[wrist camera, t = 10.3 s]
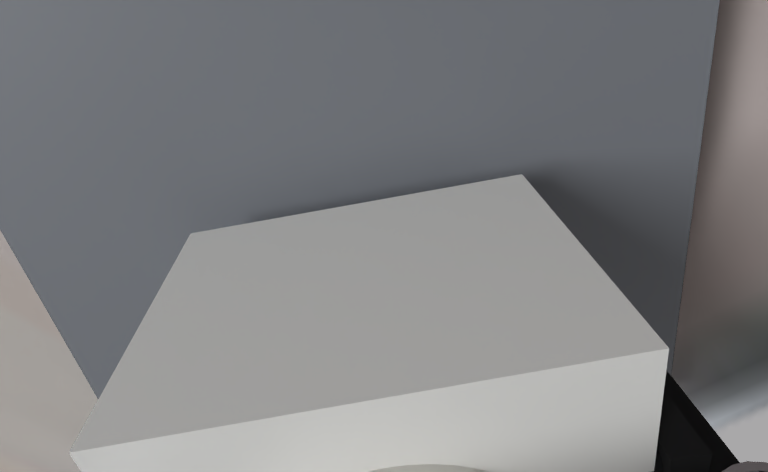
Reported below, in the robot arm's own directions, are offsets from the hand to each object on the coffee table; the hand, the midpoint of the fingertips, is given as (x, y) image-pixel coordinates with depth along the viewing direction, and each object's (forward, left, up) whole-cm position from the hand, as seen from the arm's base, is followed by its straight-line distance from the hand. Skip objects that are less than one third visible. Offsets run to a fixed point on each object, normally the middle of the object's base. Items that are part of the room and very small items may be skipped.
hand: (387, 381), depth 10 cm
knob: (0, 0, -2) cm, 2 cm away
